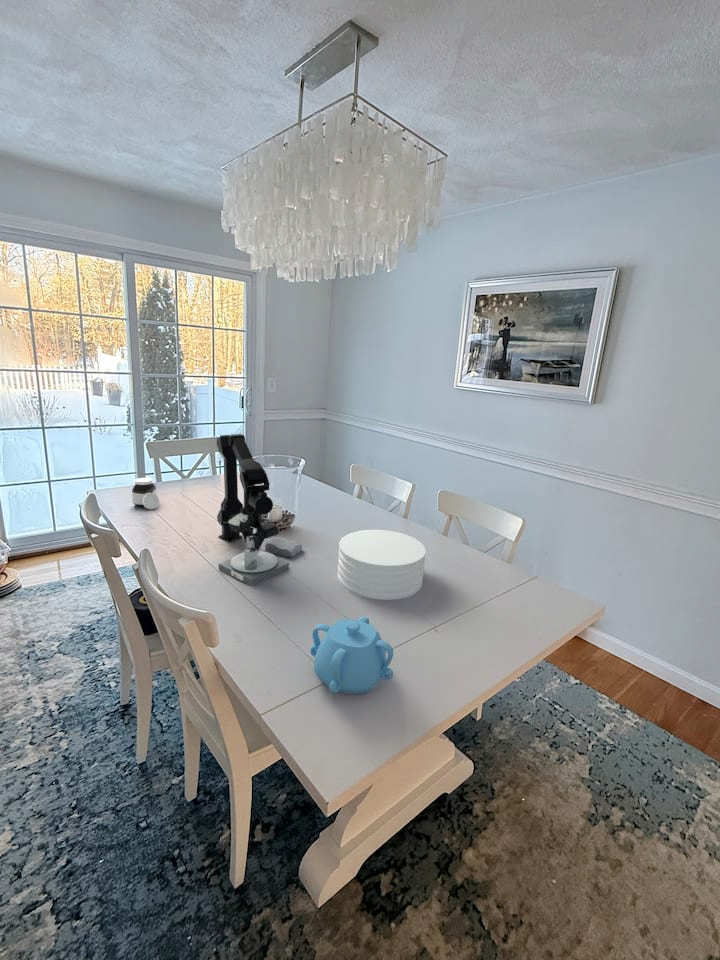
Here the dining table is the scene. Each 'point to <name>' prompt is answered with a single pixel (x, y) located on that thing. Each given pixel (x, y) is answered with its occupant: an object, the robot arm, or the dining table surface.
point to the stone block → (283, 547)
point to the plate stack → (381, 564)
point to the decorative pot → (351, 656)
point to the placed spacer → (250, 558)
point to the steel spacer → (250, 542)
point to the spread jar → (145, 493)
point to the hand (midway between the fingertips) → (252, 548)
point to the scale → (265, 569)
